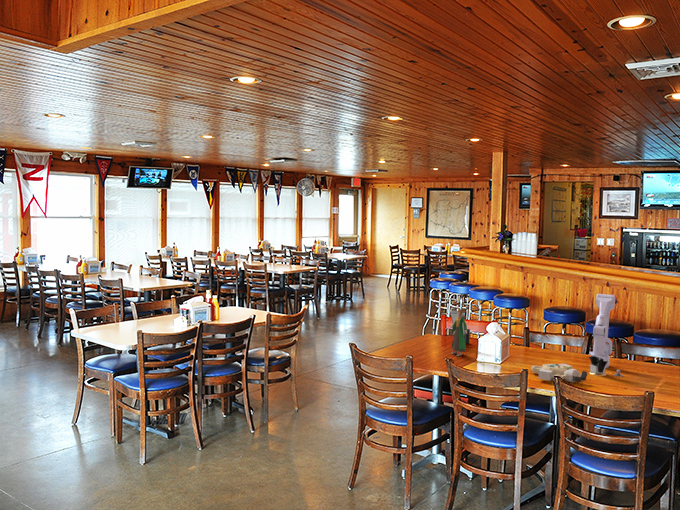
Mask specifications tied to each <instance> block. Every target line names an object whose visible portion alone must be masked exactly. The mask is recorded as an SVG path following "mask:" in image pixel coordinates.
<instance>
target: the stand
mask: <svg viewBox="0 0 680 510" xmlns="http://www.w3.org/2000/svg"><path fill="white" fill-rule="evenodd" d="M613 377H620V378H622V377H624V374H621V369H616V373H614V374H613Z"/></svg>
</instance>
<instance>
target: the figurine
mask: <svg viewBox="0 0 680 510" xmlns="http://www.w3.org/2000/svg"><path fill="white" fill-rule="evenodd" d="M456 311H457V317H456V321H455V322H454V324H453V323H452V325H451V326H449V329H451V332H452V333H453V332H454V331H455V333H454V338H453V339H452V344H451V349H452V350H453V351H452V352H451V355H456V357H462V355H463V354H462V353H465V352H467V347H466V345H467V344H465V339H464V333H463V323H464V328H465V337H466V334H467V329H468V326H467V323H466V319H465V320H464V318H465V317H464V318H463V317H462V316H463V314H464V313H467V311H466V309H465V308H463V307H462V308H459V309H458V310H456ZM462 312H463V313H462Z"/></svg>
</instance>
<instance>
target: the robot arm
mask: <svg viewBox="0 0 680 510" xmlns="http://www.w3.org/2000/svg"><path fill="white" fill-rule="evenodd" d="M595 304H596V307H597V308H599V311H598V312H599V314H598V315H597V316H596V319H595V325H594V326H593V329H592V330H593V331H592V334H593V345H592V346H593V347H592V351H589V354H588V355H589V356H588V358H589V361H590V365H591V364H598V370H599V372H603V370H604V367H605V369H608V368H609V367H610V359H611V358H610V355H611V354H612V353H613V341H612V340H611V339H610V338H609V337H608V335H609V327H610V325H609V323H610V313H611V311H612V310H614V309H615V308H616V307H615V306H616V305H615V304H616V295H615V294H605V293H604V294H603V293H597V294H596V298H595Z"/></svg>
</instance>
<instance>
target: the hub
mask: <svg viewBox="0 0 680 510" xmlns="http://www.w3.org/2000/svg"><path fill="white" fill-rule="evenodd" d="M588 373H589V374H590V375H592V376H597V377H598V376H599V377H604V376H607V373H606V372H605V374H595V373H593V372H591V371H588Z"/></svg>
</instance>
